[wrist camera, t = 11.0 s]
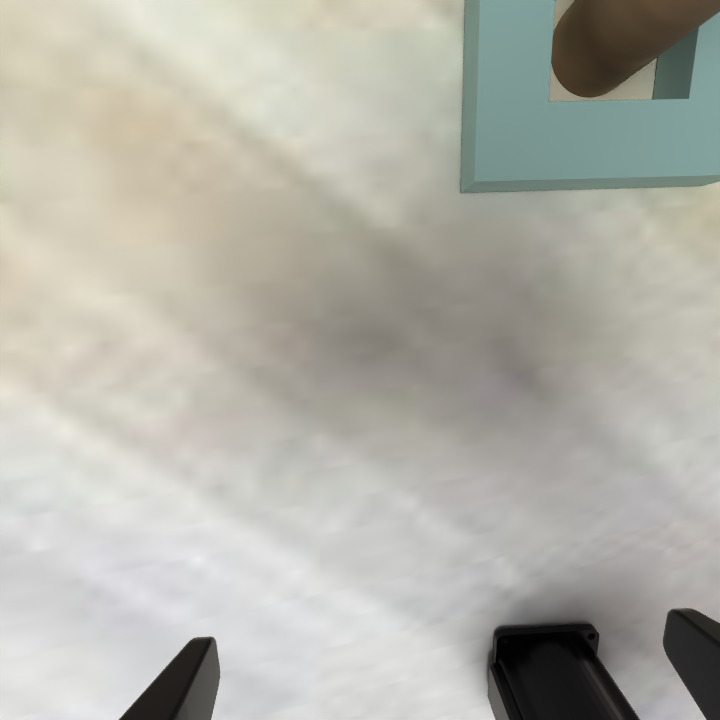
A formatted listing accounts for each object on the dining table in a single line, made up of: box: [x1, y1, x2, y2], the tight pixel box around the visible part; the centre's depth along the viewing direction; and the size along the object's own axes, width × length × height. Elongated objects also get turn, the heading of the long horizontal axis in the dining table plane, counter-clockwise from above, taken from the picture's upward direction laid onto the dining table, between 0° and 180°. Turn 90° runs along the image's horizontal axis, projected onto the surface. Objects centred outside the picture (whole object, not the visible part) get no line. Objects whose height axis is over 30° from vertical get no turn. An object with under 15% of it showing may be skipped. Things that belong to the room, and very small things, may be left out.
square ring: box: [460, 0, 720, 193], centre depth 16 cm, size 12×12×2 cm
